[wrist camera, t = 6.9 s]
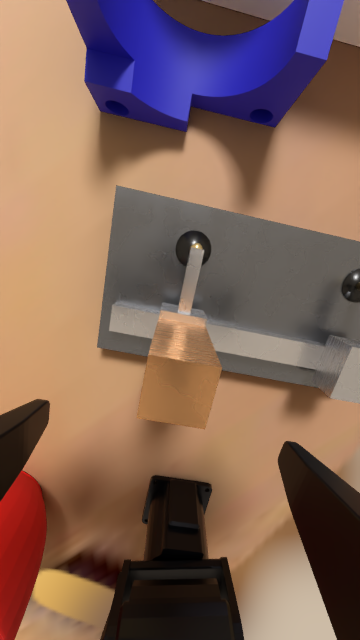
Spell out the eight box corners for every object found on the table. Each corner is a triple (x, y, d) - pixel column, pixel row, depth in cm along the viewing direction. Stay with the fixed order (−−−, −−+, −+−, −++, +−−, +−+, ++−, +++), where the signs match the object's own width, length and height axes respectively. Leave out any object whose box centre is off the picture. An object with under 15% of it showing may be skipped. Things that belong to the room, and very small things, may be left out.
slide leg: (190, 355, 19) (202, 438, 10) (153, 348, 18) (134, 427, 10) (216, 249, 16) (257, 243, 8) (174, 239, 16) (172, 224, 8)
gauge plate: (337, 384, 22) (381, 420, 17) (102, 340, 20) (80, 366, 16) (394, 254, 19) (468, 253, 14) (121, 191, 17) (100, 167, 12)
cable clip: (101, 112, 16) (58, 32, 10) (108, 29, 15) (64, -116, 9) (267, 153, 17) (315, 99, 11) (287, 77, 16) (352, -28, 10)
